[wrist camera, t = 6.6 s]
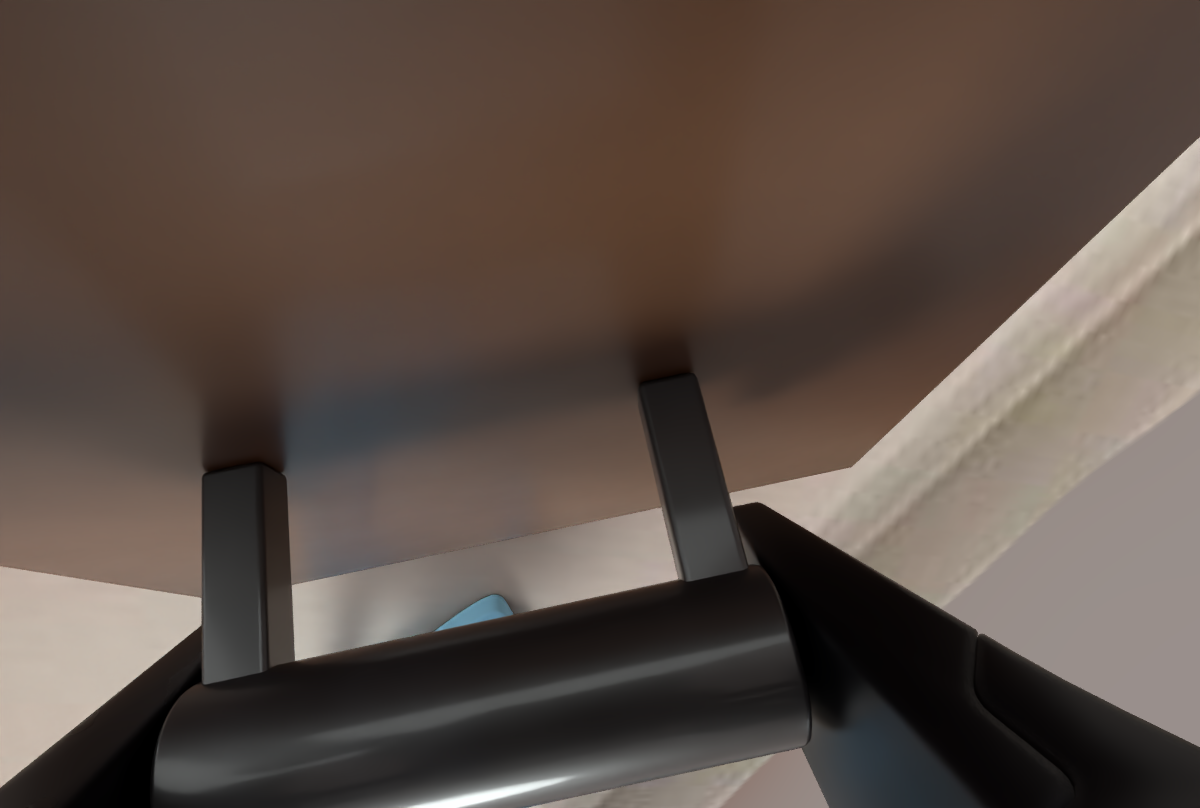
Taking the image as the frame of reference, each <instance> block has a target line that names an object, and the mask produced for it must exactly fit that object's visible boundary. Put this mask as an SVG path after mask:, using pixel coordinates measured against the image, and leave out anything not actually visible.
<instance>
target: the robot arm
mask: <svg viewBox="0 0 1200 808" xmlns="http://www.w3.org/2000/svg"><path fill="white" fill-rule="evenodd" d="M733 510H734V514H735V518H736V521H737V525H738V529H739V532H740V536H741V540H742V543H743V547H744V551H745V554H746V558H747V562H748V565H749V564H756V565H760V566H762V567H763V568H764V569H765V571H766V572H767V573H768V575H769V576H770V578H771V579H772V581H773V583H774V585H775V586H776V588H777V590H778V593H779V595H780V597H781V599H782V602H783V604H784V606H785V609H786V612H787V614H788V617H789V620H790V623H791V625H792V629H793V632H794V635H795V638H796V641H797V645H798V648H799V652H800V655H801V659H802V663H803V667H804V671H805V676H806V680H807V685H808V691H809V696H810V703H811V712H812V735H811V740H810V742H809V743H808V744H807V745H805V746H804V747H803V748H802V750H803V752H804V754H805V756H806V759H807V761H808V763H809V765H810V767H811V769H812V771H813V774H814V776H815V778H816V780H817V782H818V784H819V786H820V788H821V791H822V793H823V795H824V797H825V799H826V801H827V804H828V805H829V808H1200V747H1198V746H1196V745H1194V744H1192V743H1190V742H1188V741H1186V740H1184V739H1182V738H1179V737H1178V736H1176V735H1174V734H1171V733H1169V732H1167V731H1165V730H1163V729H1161V728H1159V727H1157V726H1155V725H1153V724H1151V723H1149V722H1147V721H1145V720H1143V719H1141V718H1139V717H1137V716H1135V715H1132V714H1130V713H1128V712H1126V711H1124V710H1122V709H1120V708H1118V707H1116V706H1114V705H1112V704H1111V703H1109V702H1107V701H1105V700H1103V699H1101V698H1099V697H1097V696H1095V695H1093V694H1091V693H1089V692H1087V691H1085V690H1083V689H1081V688H1079V687H1077V686H1075V685H1073V684H1071V683H1069V682H1067V681H1065V680H1063V679H1062V678H1060V677H1058V676H1056V675H1055V674H1053V673H1051V672H1049V671H1047V670H1045V669H1044V668H1042V667H1040V666H1039V665H1037V664H1035V663H1033V662H1031V661H1029V660H1028V659H1026V658H1024V657H1022V656H1021V655H1019V654H1017V653H1015V652H1013V651H1012V650H1010V649H1008V648H1007V647H1005V646H1003V645H1002V644H1000V643H998V642H996V641H995V640H993V639H991V638H990V637H988V636H986V635H985V634H979V635H978V632H977V631H976V629H974V628H972V627H971V626H969V625H967V624H966V623H964V622H962V621H960V620H959V619H957V618H955V617H954V616H952V615H950V614H948V613H947V612H945V611H944V610H942V609H940V608H938V607H937V606H935V605H933V604H932V603H930V602H928V601H927V600H925V599H923V598H921V597H920V596H918V595H916V594H915V593H913V592H911V591H910V590H908V589H906V588H905V587H903V586H901V585H899V584H898V583H896V582H894V581H893V580H891V579H889V578H888V577H886V576H884V575H882V574H881V573H879V572H877V571H876V570H874V569H872V568H871V567H869V566H867V565H866V564H864V563H862V562H860V561H859V560H857V559H855V558H854V557H852V556H850V555H849V554H847V553H845V552H843V551H842V550H840V549H838V548H837V547H835V546H833V545H832V544H830V543H828V542H827V541H825V540H823V539H821V538H820V537H818V536H816V535H815V534H813V533H811V532H810V531H808V530H806V529H804V528H803V527H801V526H799V525H798V524H796V523H794V522H793V521H791V520H789V519H788V518H786V517H784V516H782V515H781V514H779V513H777V512H776V511H774V510H772V509H771V508H769V507H767V506H765V505H764V504H762V503H759V502H755V503H750V504H745V505H740V506H735V507H733ZM977 636H978V637H977ZM199 682H202V625H201V626H200V627H199V628H198V629H197V630H195V631H194V632H193V633H192V634H190V635H189V636H188V637H187V638H185V639H184V640H183V641H182V642H180V643H179V644H178V645H177V646H175V647H174V648H173V649H172V650H170V651H169V652H168V653H167V654H166V655H164V656H163V657H162V658H161V659H159V660H158V661H157V662H156V663H154V664H153V665H152V666H151V667H149V668H148V669H147V670H146V671H144V672H143V673H142V674H141V675H140V676H138V677H137V678H136V679H135V680H133V681H132V682H131V683H130V684H128V685H127V686H126V687H125V688H123V689H122V690H121V691H120V692H118V693H117V694H116V695H115V696H114V697H112V698H111V699H110V700H109V701H107V702H106V703H105V704H104V705H102V706H101V707H100V708H99V709H97V710H96V711H95V712H94V713H92V714H91V715H90V716H89V717H87V718H86V719H85V720H84V721H83V722H81V723H80V724H79V725H78V726H76V727H75V728H74V729H73V730H71V731H70V732H69V733H68V734H66V735H65V736H64V737H63V738H61V739H60V740H59V741H58V742H57V743H55V744H54V745H53V746H52V747H50V748H49V749H48V750H47V751H45V752H44V753H43V754H42V755H40V756H39V757H38V758H37V759H35V760H34V761H33V762H32V763H30V764H29V765H28V766H27V767H26V768H24V769H23V770H22V771H21V772H19V773H18V774H17V775H16V776H14V777H13V778H12V779H11V780H9V781H8V782H7V783H6V784H4V785H3V786H2V787H1V788H0V808H150V775H151V767H152V760H153V755H154V751H155V746H156V743H157V739H158V736H159V733H160V730H161V728H162V725H163V723H164V721H165V719H166V717H167V715H168V713H169V711H170V710H171V708H172V706H173V705H174V703H175V702H176V701H177V700H178V698H179V697H180V696H181V695H182V694H183V693H184V692H186V691H187V690H188V689H190V688H191V687H193V686H194V685H196V684H197V683H199Z"/></svg>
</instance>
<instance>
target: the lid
mask: <svg viewBox="0 0 1200 808" xmlns="http://www.w3.org/2000/svg"><path fill="white" fill-rule="evenodd" d="M1199 137H1200V0H0V566H3V567H9V568H16V569H22V570H29V571H35V572H41V573H48V574H54V575H60V576H67V577H73V578H79V579H86V580H92V581H99V582H105V583H111V584H118V585H124V586H130V587H137V588H143V589H149V590H156V591H162V592H168V593H175V594H181V595H188V596H194V597H200V598H202V682H199V683H197V684H196V685H194V686H193V687H191V688H190V689H188V690H187V691H186V692H184V693H183V694H182V695H181V696H180V697H179V698H178V700H177V701H176V702H175V703H174V705H173V706H172V708H171V710H170V711H169V713H168V715H167V717H166V719H165V721H164V723H163V725H162V728H161V730H160V733H159V736H158V739H157V743H156V746H155V751H154V755H153V760H152V767H151V775H150V808H527V807H532V806H536V805H541V804H545V803H550V802H555V801H559V800H564V799H568V798H573V797H578V796H582V795H587V794H591V793H596V792H601V791H605V790H610V789H614V788H619V787H624V786H628V785H633V784H637V783H642V782H646V781H651V780H656V779H660V778H665V777H669V776H674V775H679V774H683V773H688V772H692V771H697V770H702V769H706V768H711V767H715V766H720V765H725V764H729V763H734V762H738V761H743V760H748V759H752V758H757V757H761V756H766V755H770V754H775V753H780V752H784V751H789V750H793V749H798V748H803V747H804V746H805V745H807V744H808V743H809V742H810V740H811V735H812V712H811V703H810V696H809V691H808V685H807V680H806V676H805V671H804V667H803V663H802V659H801V655H800V652H799V648H798V645H797V641H796V638H795V635H794V632H793V629H792V625H791V623H790V620H789V617H788V614H787V612H786V609H785V606H784V604H783V602H782V599H781V597H780V595H779V593H778V590H777V588H776V586H775V585H774V583H773V581H772V579H771V578H770V576H769V575H768V573H767V572H766V571H765V569H764V568H763V567H762V566H760V565H756V564H749V565H748V562H747V558H746V554H745V551H744V547H743V543H742V540H741V536H740V532H739V529H738V525H737V521H736V518H735V514H734V510H733V506H732V503H731V499H730V495H729V493H731V492H736V491H740V490H745V489H750V488H755V487H759V486H764V485H769V484H774V483H778V482H783V481H788V480H793V479H797V478H802V477H807V476H812V475H816V474H821V473H826V472H831V471H835V470H840V469H845V468H849V467H852V466H853V465H854V464H855V463H856V462H858V461H859V460H860V459H861V458H862V457H863V456H864V455H865V454H866V453H867V452H868V451H869V450H870V449H871V448H872V447H873V446H874V445H875V444H877V443H878V442H879V441H880V440H881V439H882V438H883V437H884V436H885V435H886V434H887V433H888V432H889V431H890V430H891V429H892V428H893V427H894V426H895V425H897V424H898V423H899V422H900V421H901V420H902V419H903V418H904V417H905V416H906V415H907V414H908V413H909V412H910V411H911V410H912V409H913V408H914V407H915V406H917V405H918V404H919V403H920V402H921V401H922V400H923V399H924V398H925V397H926V396H927V395H928V394H929V393H930V392H931V391H932V390H933V389H934V388H935V387H937V386H938V385H939V384H940V383H941V382H942V381H943V380H944V379H945V378H946V377H947V376H948V375H949V374H950V373H951V372H952V371H953V370H954V369H956V368H957V367H958V366H959V365H960V364H961V363H962V362H963V361H964V360H965V359H966V358H967V357H968V356H969V355H970V354H971V353H972V352H973V351H974V350H976V349H977V348H978V347H979V346H980V345H981V344H982V343H983V342H984V341H985V340H986V339H987V338H988V337H989V336H990V335H991V334H992V333H993V332H994V331H996V330H997V329H998V328H999V327H1000V326H1001V325H1002V324H1003V323H1004V322H1005V321H1006V320H1007V319H1008V318H1009V317H1010V316H1011V315H1012V314H1013V313H1014V312H1016V311H1017V310H1018V309H1019V308H1020V307H1021V306H1022V305H1023V304H1024V303H1025V302H1026V301H1027V300H1028V299H1029V298H1030V297H1031V296H1032V295H1033V294H1034V293H1036V292H1037V291H1038V290H1039V289H1040V288H1041V287H1042V286H1043V285H1044V284H1045V283H1046V282H1047V281H1048V280H1049V279H1050V278H1051V277H1052V276H1053V275H1055V274H1056V273H1057V272H1058V271H1059V270H1060V269H1061V268H1062V267H1063V266H1064V265H1065V264H1066V263H1067V262H1068V261H1069V260H1070V259H1071V258H1072V257H1073V256H1075V255H1076V254H1077V253H1078V252H1079V251H1080V250H1081V249H1082V248H1083V247H1084V246H1085V245H1086V244H1087V243H1088V242H1089V241H1090V240H1091V239H1092V238H1093V237H1095V236H1096V235H1097V234H1098V233H1099V232H1100V231H1101V230H1102V229H1103V228H1104V227H1105V226H1106V225H1107V224H1108V223H1109V222H1110V221H1111V220H1112V219H1113V218H1115V217H1116V216H1117V215H1118V214H1119V213H1120V212H1121V211H1122V210H1123V209H1124V208H1125V207H1126V206H1127V205H1128V204H1129V203H1130V202H1131V201H1132V200H1133V199H1135V198H1136V197H1137V196H1138V195H1139V194H1140V193H1141V192H1142V191H1143V190H1144V189H1145V188H1146V187H1147V186H1148V185H1149V184H1150V183H1151V182H1152V181H1154V180H1155V179H1156V178H1157V177H1158V176H1159V175H1160V174H1161V173H1162V172H1163V171H1164V170H1165V169H1166V168H1167V167H1168V166H1169V165H1170V164H1171V163H1172V162H1174V161H1175V160H1176V159H1177V158H1178V157H1179V156H1180V155H1181V154H1182V153H1183V152H1184V151H1185V150H1186V149H1187V148H1188V147H1189V146H1190V145H1191V144H1192V143H1194V142H1195V141H1196V140H1197V139H1198V138H1199ZM660 507H662V511H663V516H664V520H665V524H666V528H667V533H668V537H669V541H670V545H671V550H672V554H673V558H674V563H675V567H676V571H677V575H678V580H674V581H670V582H665V583H660V584H655V585H651V586H646V587H641V588H637V589H632V590H627V591H623V592H618V593H613V594H608V595H604V596H599V597H594V598H590V599H585V600H580V601H575V602H571V603H566V604H561V605H557V606H552V607H547V608H543V609H538V610H533V611H528V612H524V613H519V614H514V615H510V616H505V617H500V618H496V619H491V620H486V621H481V622H477V623H472V624H467V625H463V626H458V627H453V628H449V629H444V630H439V631H434V632H430V633H425V634H420V635H416V636H411V637H406V638H401V639H397V640H392V641H387V642H383V643H378V644H373V645H369V646H364V647H359V648H354V649H350V650H345V651H340V652H336V653H331V654H326V655H322V656H317V657H312V658H307V659H303V660H298V661H295V651H294V629H293V606H292V585H294V584H299V583H304V582H308V581H313V580H318V579H323V578H327V577H332V576H337V575H342V574H346V573H351V572H356V571H361V570H365V569H370V568H375V567H380V566H384V565H389V564H394V563H398V562H403V561H408V560H413V559H417V558H422V557H427V556H432V555H436V554H441V553H446V552H451V551H455V550H460V549H465V548H470V547H474V546H479V545H484V544H489V543H493V542H498V541H503V540H508V539H512V538H517V537H522V536H527V535H531V534H536V533H541V532H546V531H550V530H555V529H560V528H565V527H569V526H574V525H579V524H584V523H588V522H593V521H598V520H603V519H607V518H612V517H617V516H622V515H626V514H631V513H636V512H641V511H645V510H650V509H655V508H660Z"/></svg>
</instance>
